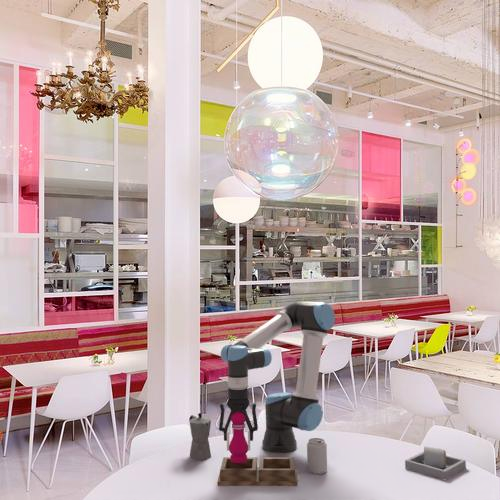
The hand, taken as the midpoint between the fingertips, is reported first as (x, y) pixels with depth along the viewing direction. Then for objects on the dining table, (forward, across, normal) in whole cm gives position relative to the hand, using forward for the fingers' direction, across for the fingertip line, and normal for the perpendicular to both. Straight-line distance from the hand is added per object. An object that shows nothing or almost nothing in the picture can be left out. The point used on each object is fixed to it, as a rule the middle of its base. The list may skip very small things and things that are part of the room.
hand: (238, 449), depth 197 cm
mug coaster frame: (+10, +76, +11) cm, 77 cm away
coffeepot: (+11, -18, +24) cm, 32 cm away
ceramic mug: (+11, +76, +13) cm, 78 cm away
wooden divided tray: (+11, +7, 0) cm, 13 cm away
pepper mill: (+4, 0, 0) cm, 4 cm away
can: (+11, +30, +7) cm, 33 cm away
